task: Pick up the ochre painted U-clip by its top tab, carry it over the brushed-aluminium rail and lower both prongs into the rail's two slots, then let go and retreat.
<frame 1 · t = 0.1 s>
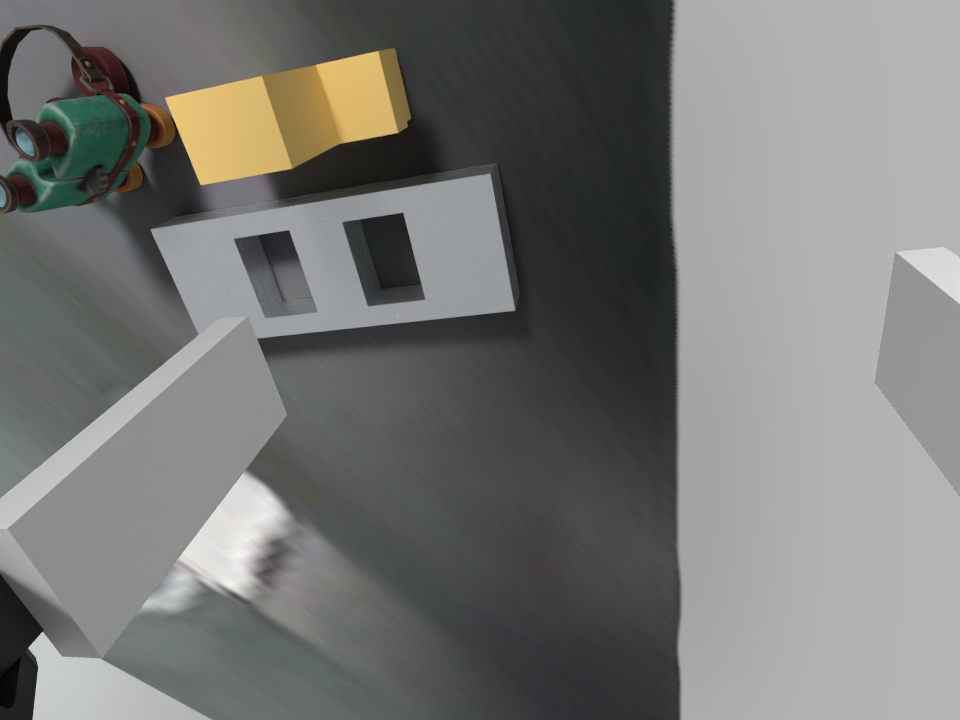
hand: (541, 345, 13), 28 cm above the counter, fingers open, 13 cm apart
binoculars: (106, 112, 41), on the counter
clip: (327, 99, 38), on the counter
rail: (345, 253, 43), on the counter
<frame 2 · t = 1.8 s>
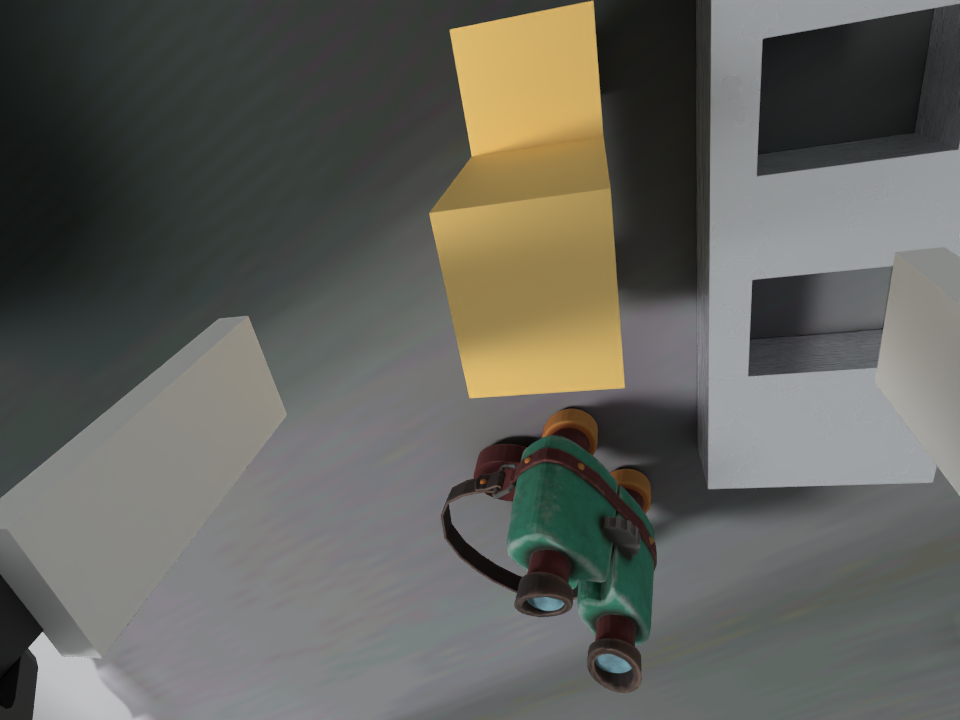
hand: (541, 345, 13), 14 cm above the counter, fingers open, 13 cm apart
binoculars: (551, 480, 33), on the counter
clip: (554, 180, 25), on the counter
rail: (818, 196, 23), on the counter
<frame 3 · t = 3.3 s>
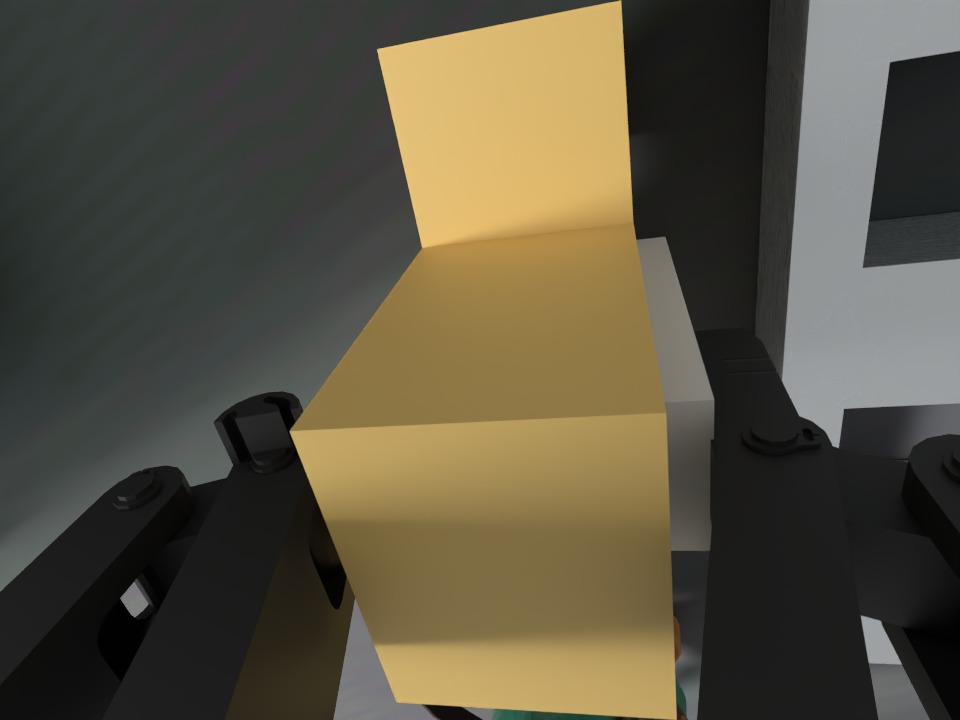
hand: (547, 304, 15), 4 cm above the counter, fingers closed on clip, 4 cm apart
binoculars: (552, 610, 26), on the counter
clip: (556, 252, 18), on the counter, touching gripper
rail: (936, 281, 16), on the counter
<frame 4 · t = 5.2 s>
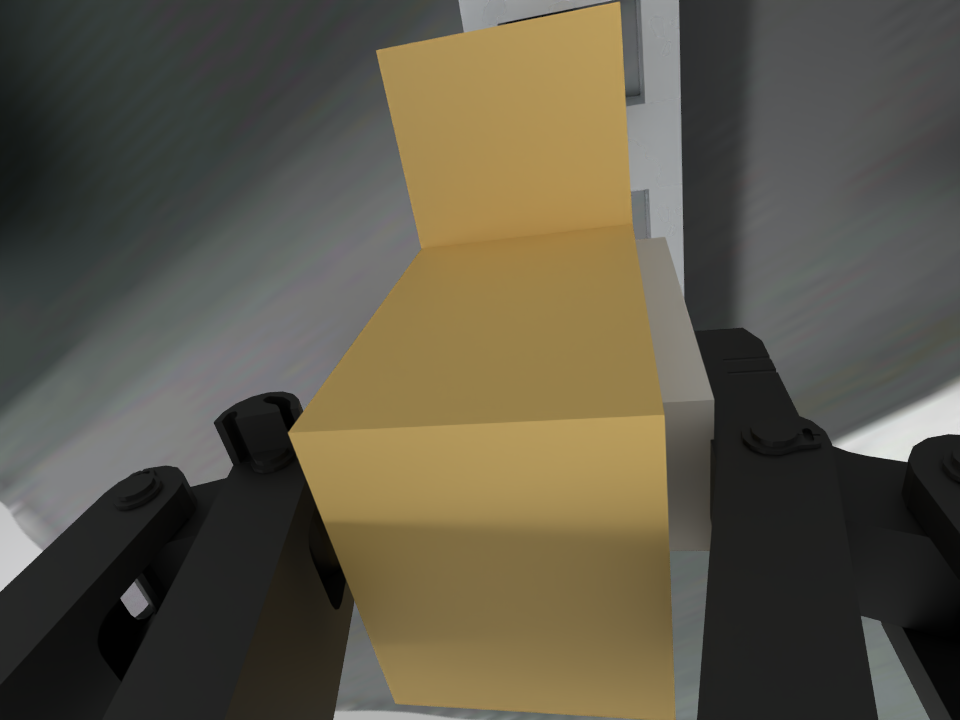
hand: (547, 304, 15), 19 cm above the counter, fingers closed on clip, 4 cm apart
clip: (556, 253, 18), point 16 cm above the counter, touching gripper
rail: (581, 145, 31), on the counter
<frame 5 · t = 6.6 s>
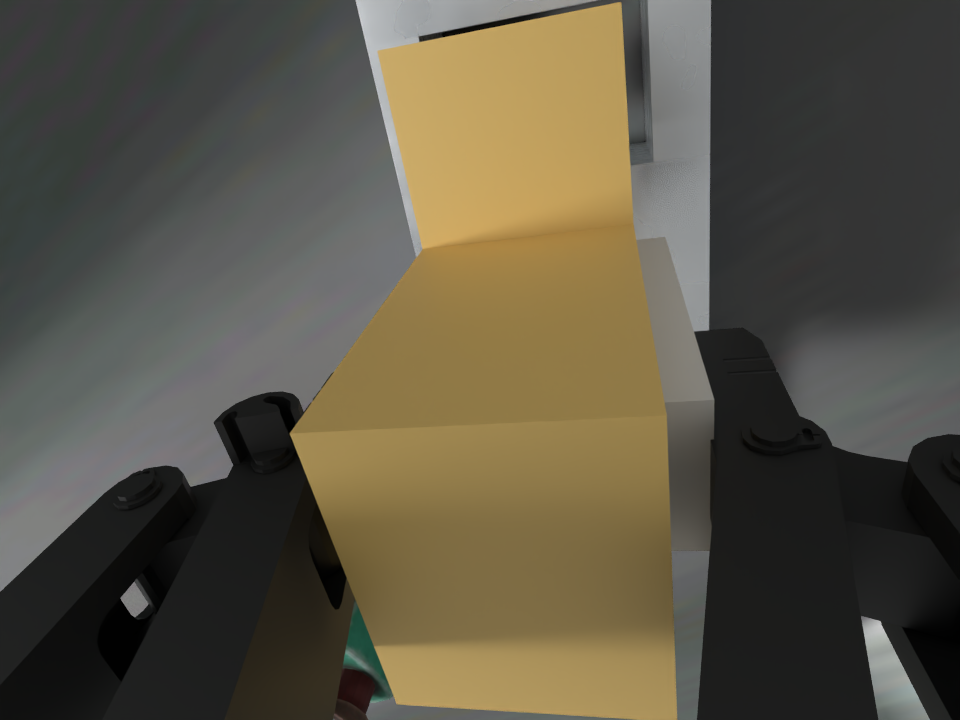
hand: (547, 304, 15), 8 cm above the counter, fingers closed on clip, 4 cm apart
binoculars: (353, 510, 31), on the counter
clip: (556, 253, 18), point 4 cm above the counter, touching gripper
rail: (559, 211, 21), on the counter
when the fingers open (5 cm above the counter, at t = 7.3 s): clip drops 1 cm, resting in rail.
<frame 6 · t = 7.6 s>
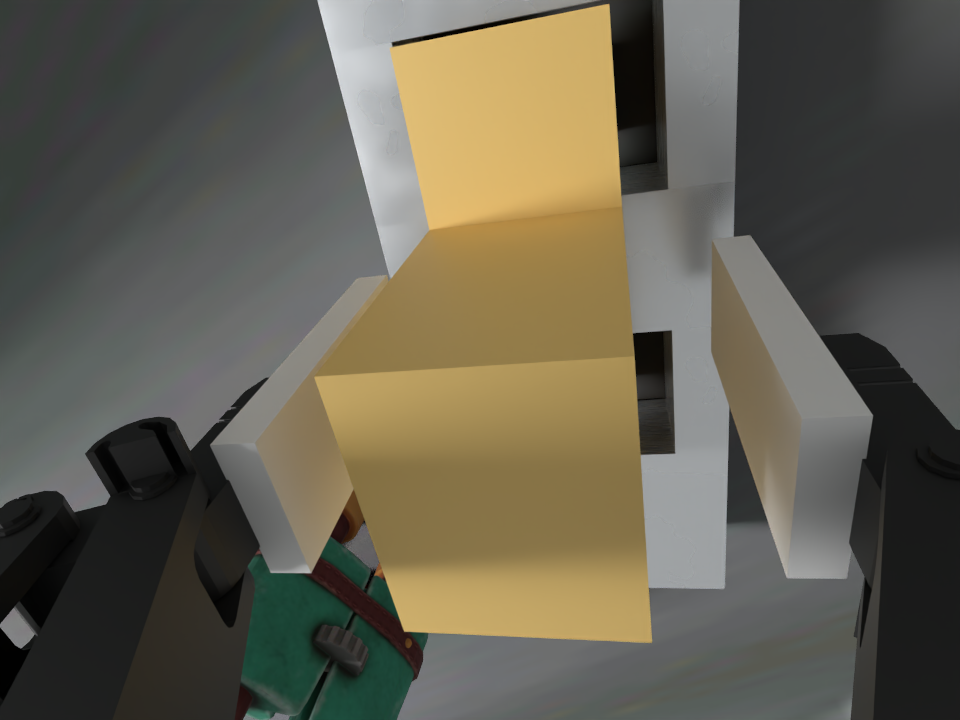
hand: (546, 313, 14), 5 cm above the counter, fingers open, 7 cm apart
binoculars: (334, 555, 28), on the counter
clip: (556, 239, 19), resting in rail
rail: (558, 239, 19), on the counter
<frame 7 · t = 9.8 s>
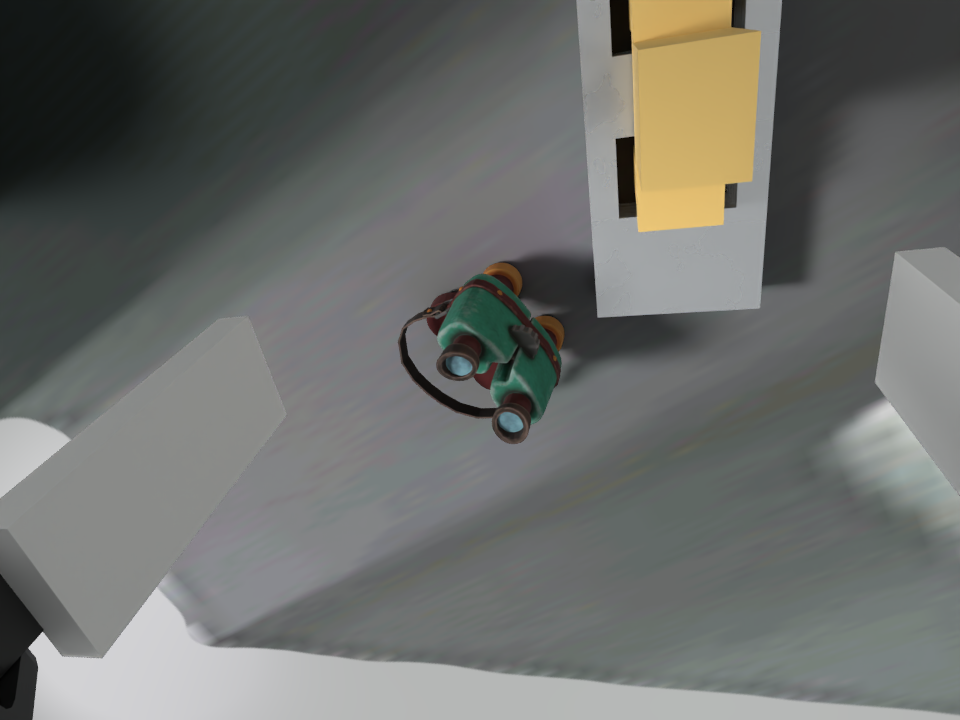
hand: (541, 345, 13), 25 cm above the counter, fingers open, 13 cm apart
binoculars: (489, 329, 42), on the counter
clip: (669, 84, 32), resting in rail
rail: (671, 84, 32), on the counter
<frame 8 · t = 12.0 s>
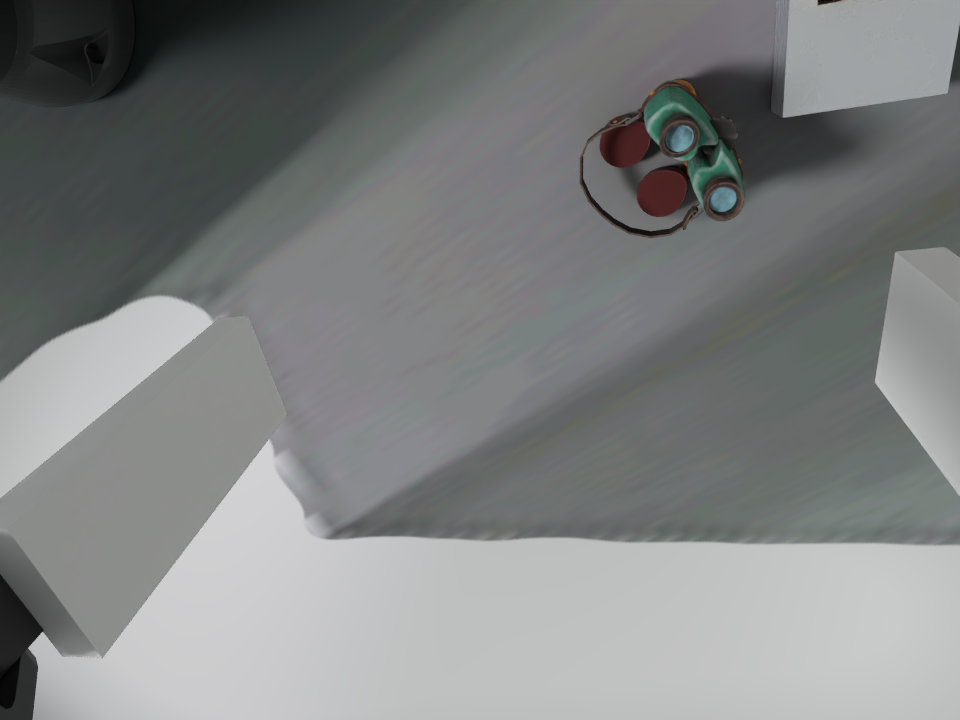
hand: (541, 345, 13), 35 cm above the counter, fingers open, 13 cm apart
binoculars: (655, 157, 43), on the counter
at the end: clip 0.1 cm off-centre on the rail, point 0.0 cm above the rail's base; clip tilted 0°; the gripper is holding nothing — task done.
